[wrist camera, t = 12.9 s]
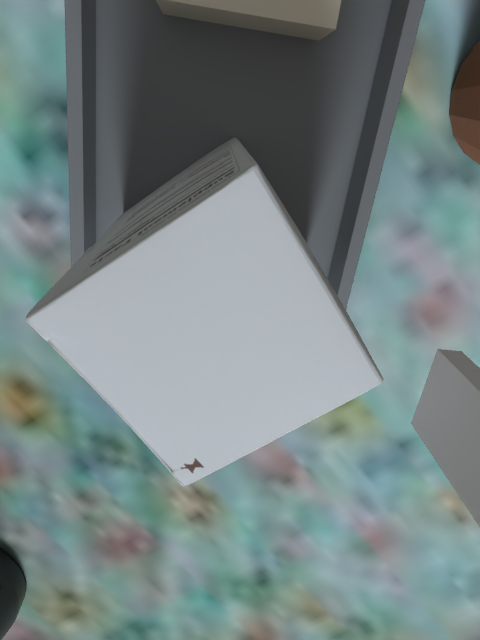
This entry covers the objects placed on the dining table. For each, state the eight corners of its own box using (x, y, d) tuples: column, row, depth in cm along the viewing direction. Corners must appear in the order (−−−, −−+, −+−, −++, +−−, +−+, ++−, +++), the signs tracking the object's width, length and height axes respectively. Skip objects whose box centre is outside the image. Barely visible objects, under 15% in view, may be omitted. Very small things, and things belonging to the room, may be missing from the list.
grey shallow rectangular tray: (88, 319, 34) (73, 344, 30) (84, -189, 22) (58, -247, 19) (319, 342, 36) (330, 368, 32) (427, -116, 24) (465, -156, 20)
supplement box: (308, 254, 31) (395, 390, 16) (200, 320, 33) (187, 499, 18) (234, 130, 28) (258, 154, 13) (117, 212, 30) (13, 320, 14)
